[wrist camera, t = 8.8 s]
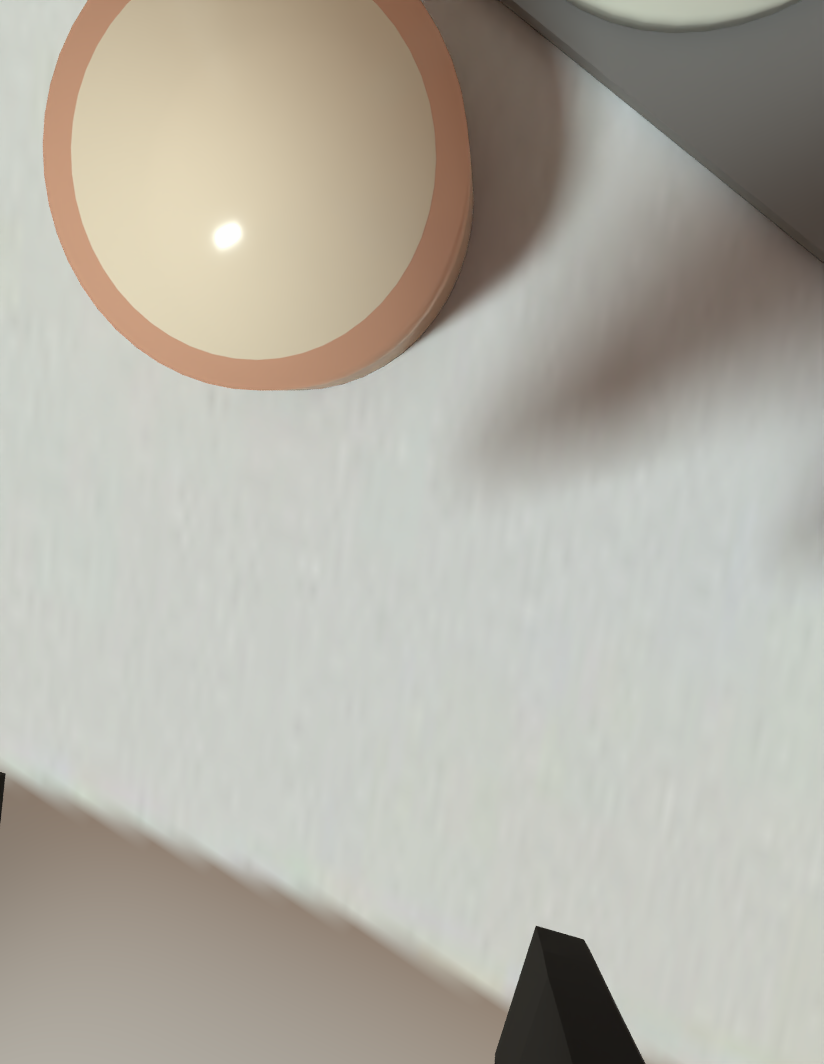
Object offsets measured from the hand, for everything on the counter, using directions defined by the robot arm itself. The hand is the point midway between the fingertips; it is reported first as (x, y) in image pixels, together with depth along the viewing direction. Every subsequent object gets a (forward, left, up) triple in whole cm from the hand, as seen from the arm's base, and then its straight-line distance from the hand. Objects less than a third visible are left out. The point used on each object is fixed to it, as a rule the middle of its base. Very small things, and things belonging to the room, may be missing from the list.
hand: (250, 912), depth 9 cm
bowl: (+8, -8, -9) cm, 14 cm away
